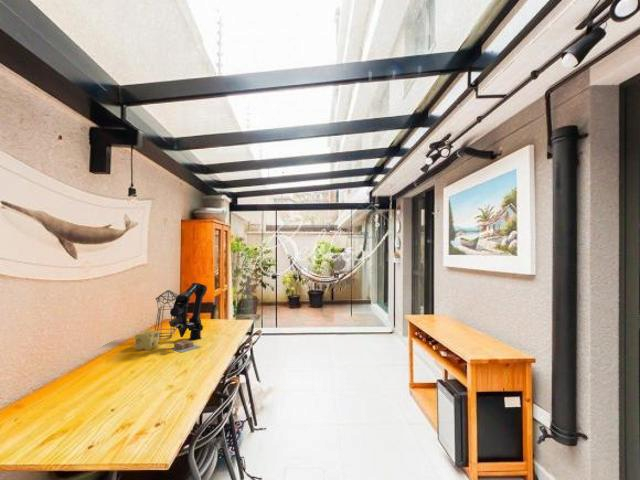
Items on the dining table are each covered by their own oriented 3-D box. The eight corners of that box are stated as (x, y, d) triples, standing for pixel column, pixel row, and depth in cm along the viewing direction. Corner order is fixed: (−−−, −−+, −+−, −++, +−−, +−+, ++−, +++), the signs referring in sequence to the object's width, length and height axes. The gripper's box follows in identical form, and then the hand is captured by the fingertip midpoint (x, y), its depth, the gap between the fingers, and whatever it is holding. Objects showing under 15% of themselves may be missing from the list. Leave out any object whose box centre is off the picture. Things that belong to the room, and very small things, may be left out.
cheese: (150, 350, 197) (150, 334, 197) (133, 349, 197) (134, 334, 198) (159, 345, 207) (159, 330, 208) (143, 345, 208) (143, 330, 208)
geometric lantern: (156, 335, 231) (159, 288, 233) (178, 334, 236) (181, 288, 238) (151, 341, 216) (154, 291, 218) (175, 340, 221) (178, 291, 223)
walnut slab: (185, 339, 209) (193, 342, 205) (185, 344, 209) (193, 346, 204) (174, 342, 203) (182, 345, 198) (174, 347, 203) (182, 349, 198)
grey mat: (189, 343, 211) (189, 343, 211) (200, 347, 205) (200, 346, 205) (170, 349, 200) (170, 348, 200) (181, 352, 193) (181, 352, 193)
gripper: (163, 313, 204) (162, 337, 203) (179, 317, 194) (178, 342, 193) (178, 311, 213) (177, 333, 213) (195, 314, 203) (194, 338, 203)
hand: (181, 336), depth 205 cm, fingers closed
